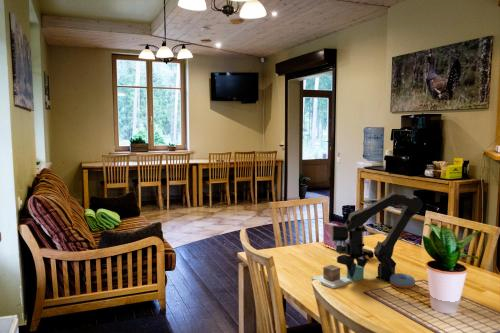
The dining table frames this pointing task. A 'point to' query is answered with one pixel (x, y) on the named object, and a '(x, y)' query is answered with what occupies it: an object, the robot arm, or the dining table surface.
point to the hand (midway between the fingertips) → (355, 275)
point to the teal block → (357, 273)
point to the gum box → (328, 235)
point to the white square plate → (335, 283)
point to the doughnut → (402, 280)
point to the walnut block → (331, 273)
